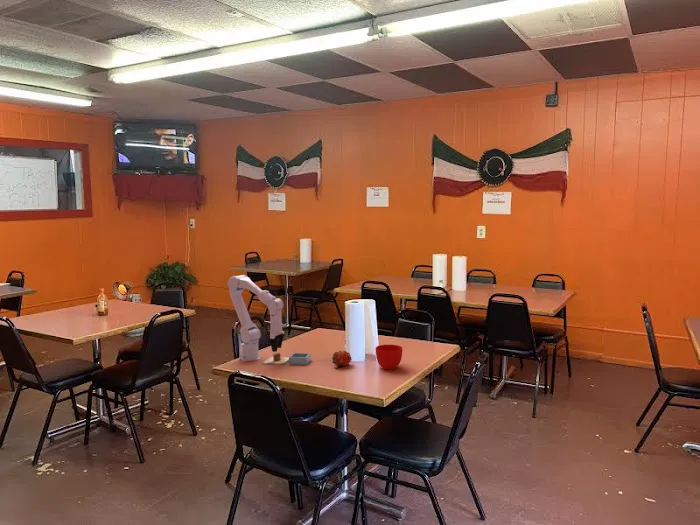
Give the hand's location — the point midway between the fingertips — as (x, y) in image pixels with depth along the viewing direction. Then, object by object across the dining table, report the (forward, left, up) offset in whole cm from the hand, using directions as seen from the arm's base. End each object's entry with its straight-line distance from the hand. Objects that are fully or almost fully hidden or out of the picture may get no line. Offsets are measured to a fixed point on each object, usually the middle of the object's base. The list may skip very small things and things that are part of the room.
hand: (276, 349), depth 275 cm
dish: (+10, -7, -7) cm, 14 cm away
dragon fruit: (+26, -21, -7) cm, 35 cm away
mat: (0, 0, -7) cm, 7 cm away
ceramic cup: (+46, -34, -7) cm, 58 cm away
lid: (0, 0, -6) cm, 6 cm away
